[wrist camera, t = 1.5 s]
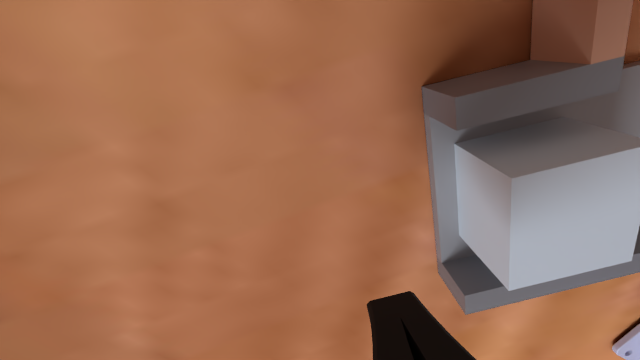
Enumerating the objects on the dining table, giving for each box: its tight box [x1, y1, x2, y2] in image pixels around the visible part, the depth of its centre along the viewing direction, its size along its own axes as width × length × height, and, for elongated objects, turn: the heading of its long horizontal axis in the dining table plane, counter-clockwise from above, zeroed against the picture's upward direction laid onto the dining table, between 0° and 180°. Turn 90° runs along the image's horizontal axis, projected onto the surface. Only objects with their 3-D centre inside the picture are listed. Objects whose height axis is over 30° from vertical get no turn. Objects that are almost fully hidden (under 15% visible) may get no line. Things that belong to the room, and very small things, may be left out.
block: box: [454, 117, 640, 291], centre depth 14 cm, size 5×5×4 cm
